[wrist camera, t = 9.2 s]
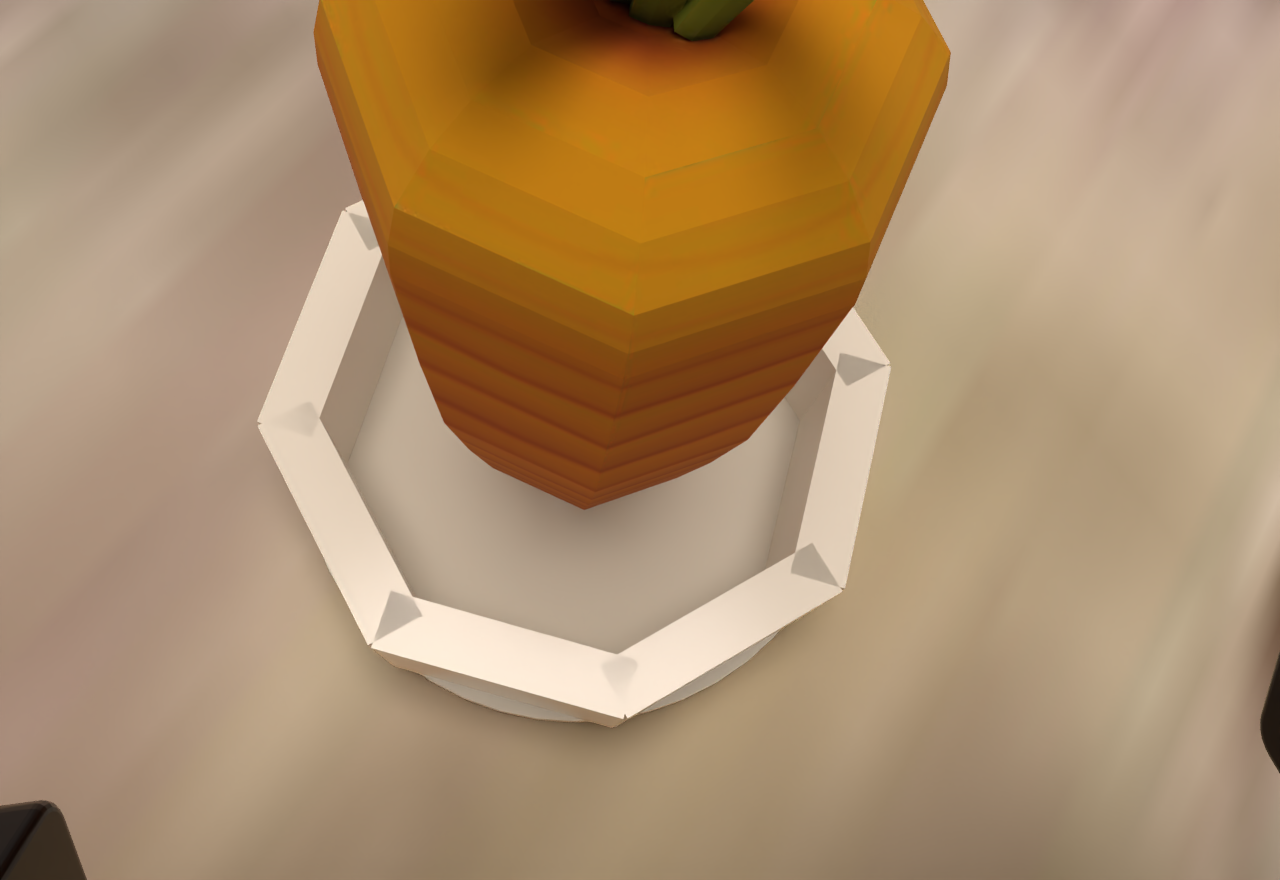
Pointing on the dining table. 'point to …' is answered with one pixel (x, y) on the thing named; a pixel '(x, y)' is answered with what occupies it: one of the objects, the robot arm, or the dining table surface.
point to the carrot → (625, 208)
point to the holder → (556, 520)
